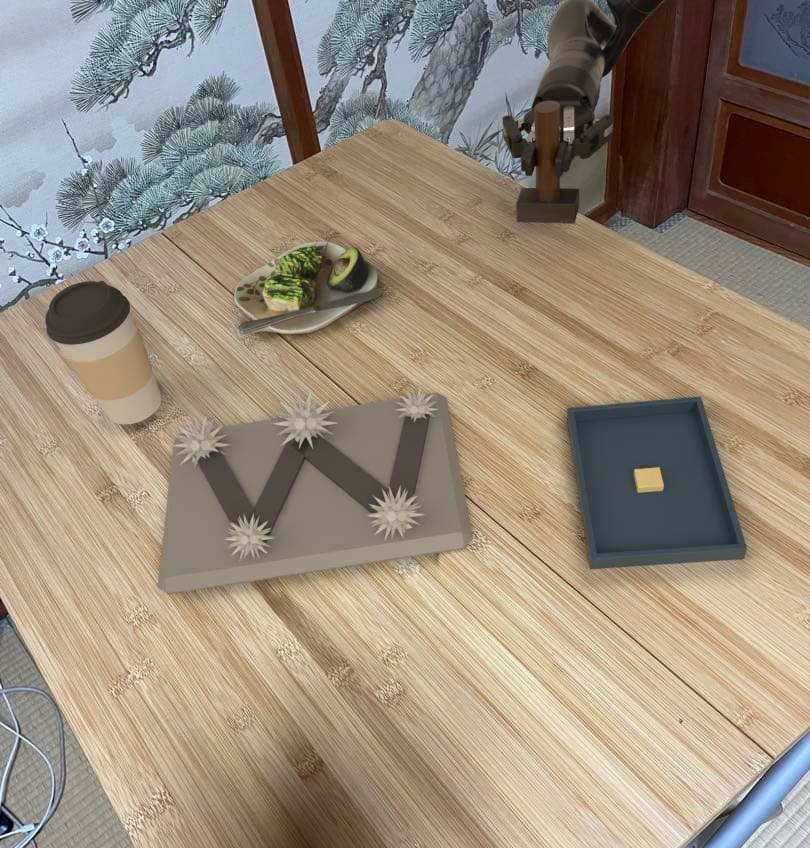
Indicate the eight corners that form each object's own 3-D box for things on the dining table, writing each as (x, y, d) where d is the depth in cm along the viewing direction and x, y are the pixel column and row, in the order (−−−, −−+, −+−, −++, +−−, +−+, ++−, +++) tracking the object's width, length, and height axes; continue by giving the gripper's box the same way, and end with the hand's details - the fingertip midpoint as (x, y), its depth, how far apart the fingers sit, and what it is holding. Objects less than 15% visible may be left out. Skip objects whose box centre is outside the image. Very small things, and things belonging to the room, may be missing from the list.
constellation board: (162, 604, 79) (133, 559, 74) (179, 445, 93) (156, 397, 87) (475, 555, 78) (470, 505, 72) (446, 401, 91) (440, 349, 86)
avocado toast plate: (279, 371, 98) (269, 340, 95) (203, 310, 108) (191, 280, 104) (404, 293, 104) (399, 261, 101) (321, 242, 114) (314, 211, 110)
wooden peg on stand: (522, 206, 104) (518, 99, 94) (579, 207, 102) (581, 98, 92) (516, 222, 102) (512, 114, 92) (574, 223, 100) (577, 114, 90)
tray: (566, 425, 87) (567, 407, 85) (697, 414, 85) (701, 396, 83) (589, 575, 75) (590, 559, 73) (742, 565, 73) (747, 548, 71)
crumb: (633, 474, 80) (633, 468, 79) (658, 472, 80) (659, 466, 79) (637, 493, 79) (637, 487, 78) (663, 491, 78) (664, 485, 78)
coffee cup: (111, 443, 94) (49, 336, 83) (85, 401, 99) (24, 295, 88) (183, 406, 97) (133, 298, 85) (154, 367, 102) (103, 260, 90)
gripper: (510, 65, 103) (480, 135, 93) (627, 62, 99) (608, 135, 89) (512, 126, 109) (484, 198, 99) (622, 125, 105) (604, 200, 95)
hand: (543, 168), depth 94 cm, fingers closed on wooden peg on stand, 3 cm apart
